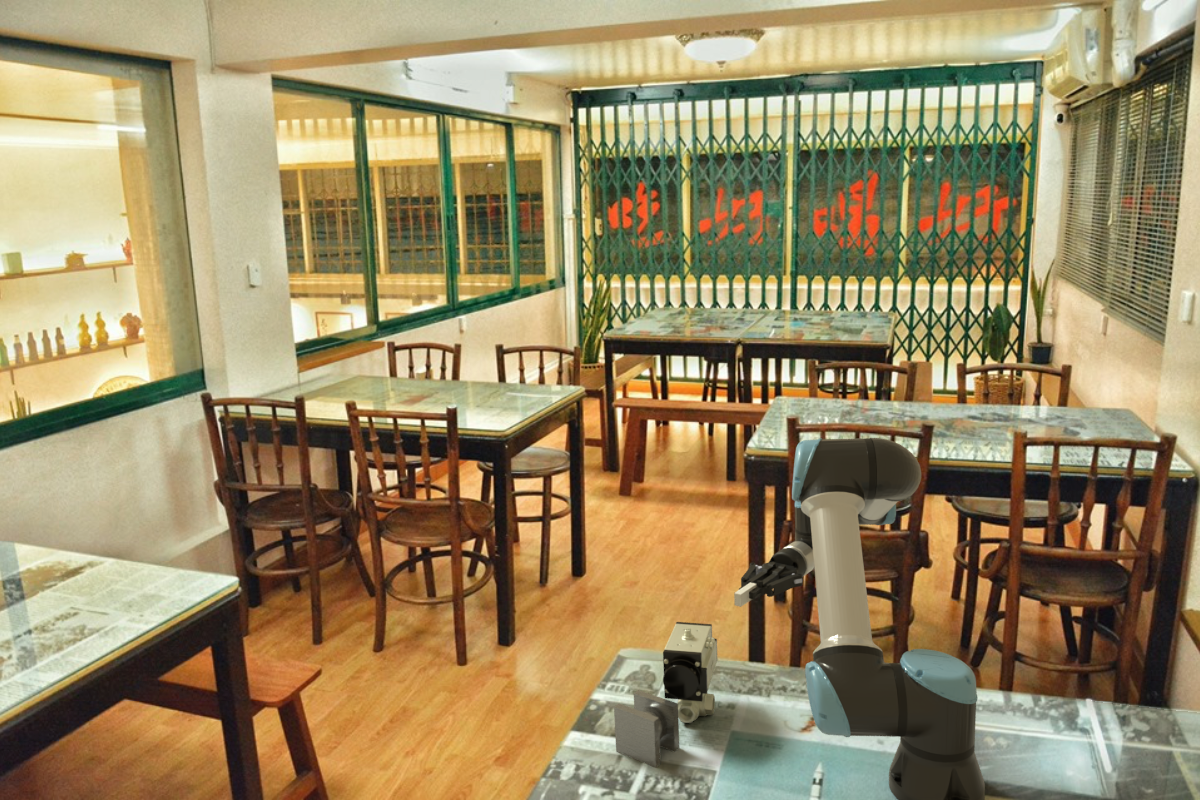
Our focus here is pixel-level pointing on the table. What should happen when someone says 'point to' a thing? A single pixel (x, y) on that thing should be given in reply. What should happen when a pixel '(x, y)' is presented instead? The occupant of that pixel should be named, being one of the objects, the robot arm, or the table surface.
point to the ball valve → (690, 669)
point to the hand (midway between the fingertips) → (737, 599)
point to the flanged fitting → (646, 728)
